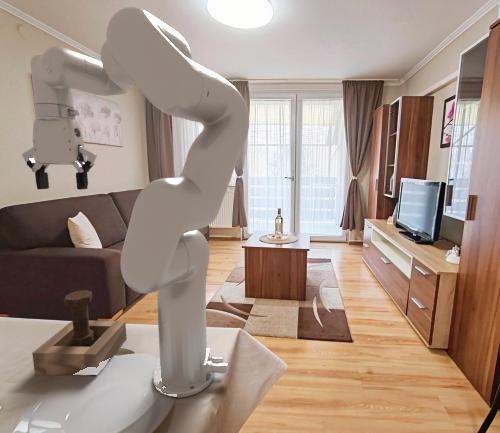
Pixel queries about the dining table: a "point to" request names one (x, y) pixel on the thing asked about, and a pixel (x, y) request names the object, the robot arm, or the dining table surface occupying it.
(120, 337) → the socket block
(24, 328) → the dining table surface
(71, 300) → the bolt
